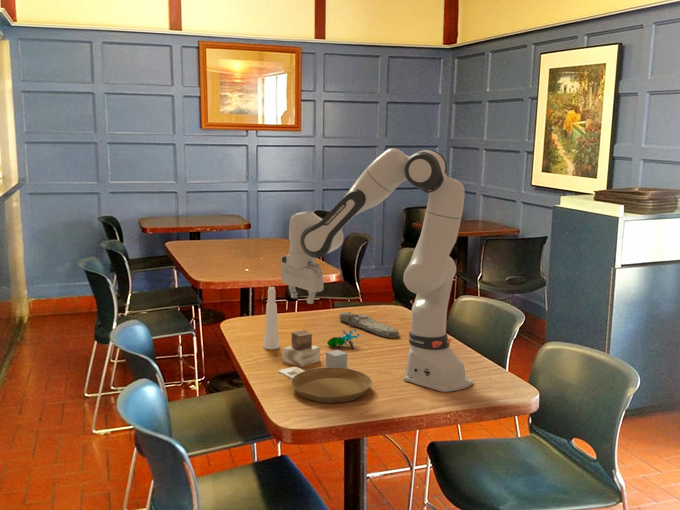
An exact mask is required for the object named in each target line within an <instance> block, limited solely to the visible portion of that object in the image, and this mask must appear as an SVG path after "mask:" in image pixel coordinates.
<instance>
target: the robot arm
mask: <svg viewBox="0 0 680 510" xmlns="http://www.w3.org/2000/svg"><path fill="white" fill-rule="evenodd" d="M446 173H447V162H446V159H445V158H444V156H443V155H442V154H441V153H439V152H438V151H436V150H429V149H428V150H427V149H424V150H423V149H422V150H420V151H418V152H415V153H413V154H411V155H407V154H406V153H405V152H403V151H402V150H401V149H398V148H394V147H391V148H388V149H387V150H385V151H384V152H382V153H381V154H379V156H377V157H376V158H375V159H374V160H373V161H372V162H371V163H369V165H368V166H367V167H366V168H365V169H364V171H362V173H361V174H360V175H359V177H358V178H357V179H356V180H355V182H354V183H353V184H352V186H351V187H350V189H349V190H348V191H347V192H346V194H345V195H344V197H343V198H342V199H340V200H339V202H338V203H337V204H336V205H335V206H334V207H333V208H332V209H331V210H330V211H329V213H327V214H326V215H325V217H323V218H322V217H320V216H318V215H317V214H316V213H315V212H314V211H309V210H307V211H302V212H300V211H299V212H297V213H293V214H292V215H291V217H290V220H289V226H288V227H289V228H288V239H289V249H288V254H285V255H282V256H280V263H281V266H280V272H281V273H280V277H281V278H280V279H281V281H282V284H286V285H288V289H289V293H290V298H291V299H298V297H299V296H298V292H297V290H296V287H297V289H298V288H299V289H302V290H306V291H307V292H308V297H306V303H307V304H308V305H312V304H314V299H315V296H317V295H316V294H317V293H321V292H322V291H324V287H325V285H324V274H323V270H322V267H321V266H320V265H319V264H318V263H316V259H318V258H322V257H324V256H325V255H326V254H327V255H328V254H330V253H331V252H334V251H335V250H337V249H339V248H341V246H342V244H343V243H344V240H345V233H344V230H343V229H344V228H345V226H347V224H348V223H349V222H350V221H351V220H352V219H353V218H355V217H356V216H357V215H359V214H361V213H363V212H365V211H367V210H370V209H371V208H373V207H376V206H378V205H379V204H381V203H382V202H383V201H385V199H387V198H388V197H389V196H390V195H391V194H392V193H393V192H394V191H395V190H396V189H397V187H398V186H400V185H401V183H403V182H405V181H408V182H409V184H411V185H412V186H413V187H415V188H417V189H419V190H421V191H422V192H424V193H426V194H428V200H427V204H426V208H425V209H426V210H425V212H424V213H425V215H424V218H423V221H422V228H421V232H420V236H419V238H418V241H417V243H416V246H415V247H414V250H413V253H412V255H411V258H410V261H409V263H408V264H407V266H406V268H405V269H404V272H403V284H404V286H405V287H406V288H407V290H408V291H409V292H411V293H413V294H415V295H416V296H415V299H414V302H413V304H412V307H411V317H410V318H411V319H410V321H411V323H410V331H409V334H408V342H409V348H408V349H409V350H408V355H407V362H406V366H405V370H404V373H403V374H404V377H403V381H405V382H408V383H412V384H415V385H418V386H421V387H424V388H425V387H426V388H427V389H428V388H429V389H432V390H435V391H439V392H442V393H444V392H447V393H449V392H455V391H459V390H463V389H467V388H468V387H471V386H472V384H473V379H471V378H469V377H467V376H466V368H465V365H464V362H463V361H462V360H461V359H460V358H459V357H458V355H457V354H456V353H455V352H454V350H453V349H452V348H451V347H450V343H453V341H452V340H453V338H448V334H447V315H448V314H447V313H448V306H449V302H450V296H451V293H452V288H453V287H452V286H453V282H454V277H455V275H456V273H457V266H456V262H455V260H454V259H453V258H452V257H451V256H450V255H451V252H452V250H453V248H454V246H455V244H456V242H457V240H458V234H459V230H460V227H461V222H462V217H463V212H464V203H465V194H466V193H465V187H464V184H463V183H462V182H461V181H459V180H458V179H457V178H454V177H449V176H448V175H447V174H446Z"/></svg>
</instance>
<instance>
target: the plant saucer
mask: <svg viewBox="0 0 680 510" xmlns="http://www.w3.org/2000/svg"><path fill="white" fill-rule="evenodd" d="M372 381H373V380H372V379H371V378H370V376H368V374H366V373H364V372H361V371H359V370H355V369H350V368H328V367H320V368H311V369H307V370H304V372H301V373H299V374H297V375H296V376H294V377H293V379H291V386H292V387H293V390H294V391H295V392H296V393H297V394H299V395H300V396H301V397H304V398H305V399H307V400H310V401H313V400H314V401H313V402H318V401H319V403H326V402H328V403H329V404H330V403H333V404H335V403H337V402H338V403H344V402H350V401H353V400H357V399H358V398H361V397H363V395H364V394H366V393H367V392H368V391H369V389H370V388H371V387H372V383H373V382H372Z"/></svg>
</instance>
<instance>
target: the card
mask: <svg viewBox="0 0 680 510" xmlns="http://www.w3.org/2000/svg"><path fill="white" fill-rule="evenodd" d="M304 371H305V369H302V368H300V367H299V366H297V365H294V366H292V367H287V368H282V369H278V370H277V372H278V373H279V374H281V375H283V376H285V377H286V378H289V379H291V380H292V379H293V377H294V376H296V375H297V374H299V373H301V372H304Z"/></svg>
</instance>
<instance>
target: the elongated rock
mask: <svg viewBox="0 0 680 510" xmlns="http://www.w3.org/2000/svg"><path fill="white" fill-rule="evenodd" d="M338 315H339V316H338V317H339V320H341V322H343V323H345V322H346V323H345V324H347V323H348V324H347V325H349V324H350V325H353V326H352V327H355V326H356V327H355V328H357V327H358V328H359V329H363V330H364V331H366V332H369V333H373V334H374V335H377V336H380V337H384V338H388V339H397V337H398V338H399V337H400V332H399V331H398V329H397V328H395V327H393V326H390V325H387V324H386V323H383V322H380V321H377V320H375V319H374V318H372V317H371V316H368V315H365V314H362V313H360V314H359V313H355V312H354V313H353V312H350V311H347V312H345V311H344V312H339V314H338ZM350 325H349V326H350Z"/></svg>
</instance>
